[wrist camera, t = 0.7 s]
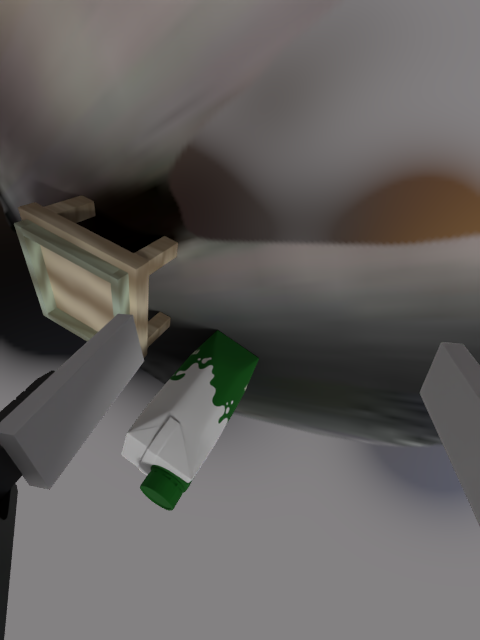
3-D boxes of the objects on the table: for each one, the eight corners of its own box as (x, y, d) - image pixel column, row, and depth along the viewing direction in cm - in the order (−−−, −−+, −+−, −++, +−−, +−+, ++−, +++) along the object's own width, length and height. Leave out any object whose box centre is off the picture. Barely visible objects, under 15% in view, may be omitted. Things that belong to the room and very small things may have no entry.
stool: (78, 189, 38) (4, 211, 31) (181, 240, 35) (125, 276, 28) (92, 285, 48) (39, 316, 42) (172, 330, 46) (129, 371, 39)
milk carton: (243, 387, 46) (167, 518, 32) (197, 354, 47) (101, 469, 32) (267, 358, 40) (185, 505, 26) (213, 321, 40) (104, 445, 26)
